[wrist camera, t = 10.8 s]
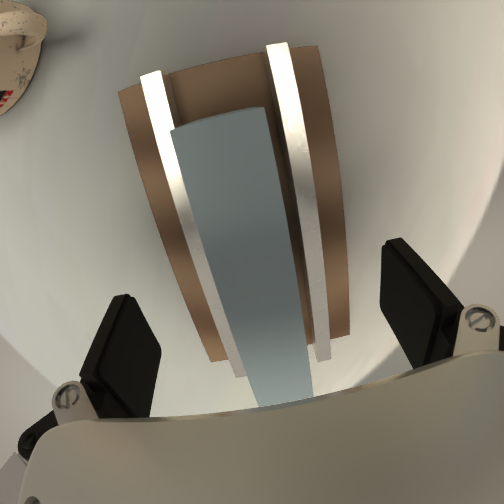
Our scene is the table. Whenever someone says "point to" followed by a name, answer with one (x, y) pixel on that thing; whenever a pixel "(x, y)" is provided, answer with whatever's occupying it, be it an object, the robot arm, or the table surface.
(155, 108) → the bottom track
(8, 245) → the table surface
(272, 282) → the door panel
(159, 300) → the table surface
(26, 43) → the teacup with lid
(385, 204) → the table surface
